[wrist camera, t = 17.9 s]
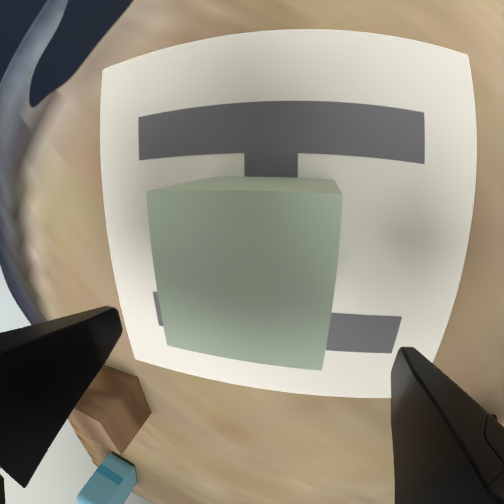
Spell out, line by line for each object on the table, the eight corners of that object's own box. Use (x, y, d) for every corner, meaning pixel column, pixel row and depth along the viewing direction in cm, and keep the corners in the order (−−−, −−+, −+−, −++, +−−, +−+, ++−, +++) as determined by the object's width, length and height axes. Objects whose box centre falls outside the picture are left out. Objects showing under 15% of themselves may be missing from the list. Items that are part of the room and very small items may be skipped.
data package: (110, 449, 31) (74, 498, 20) (135, 464, 31) (100, 516, 20) (117, 470, 36) (88, 511, 25) (137, 482, 35) (110, 524, 24)
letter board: (460, 60, 9) (468, 54, 8) (414, 387, 15) (416, 397, 14) (112, 72, 13) (102, 69, 12) (142, 351, 20) (134, 359, 19)
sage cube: (334, 179, 12) (342, 194, 7) (325, 295, 13) (321, 370, 8) (213, 176, 13) (146, 191, 8) (218, 284, 15) (167, 345, 10)
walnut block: (137, 376, 21) (99, 422, 16) (151, 412, 23) (121, 455, 17) (97, 362, 22) (59, 399, 17) (113, 397, 24) (81, 433, 18)
